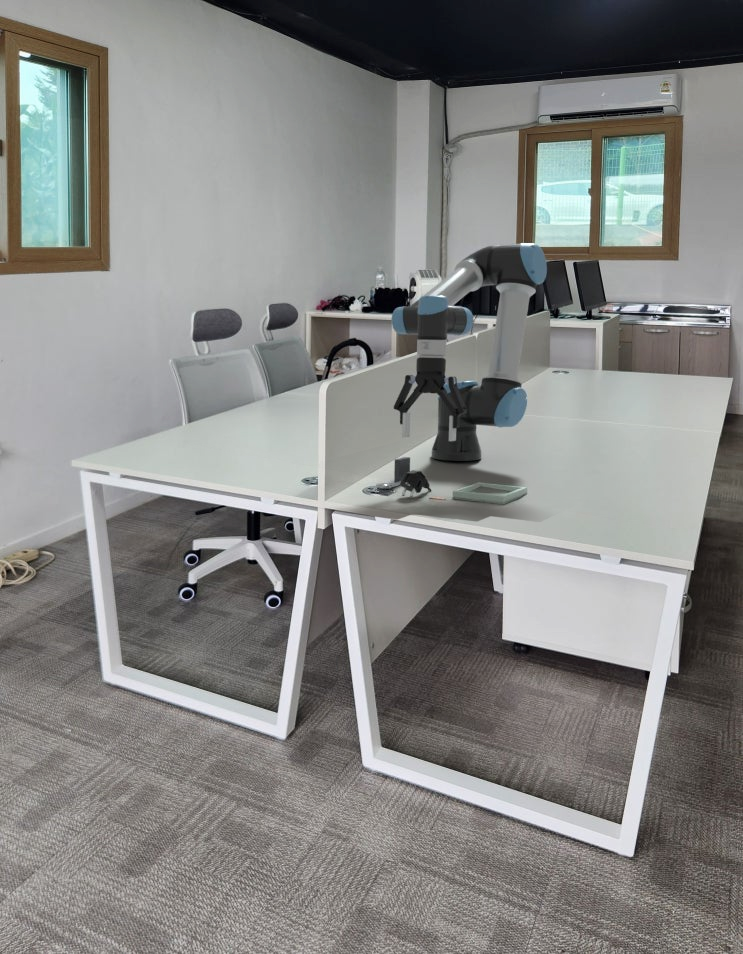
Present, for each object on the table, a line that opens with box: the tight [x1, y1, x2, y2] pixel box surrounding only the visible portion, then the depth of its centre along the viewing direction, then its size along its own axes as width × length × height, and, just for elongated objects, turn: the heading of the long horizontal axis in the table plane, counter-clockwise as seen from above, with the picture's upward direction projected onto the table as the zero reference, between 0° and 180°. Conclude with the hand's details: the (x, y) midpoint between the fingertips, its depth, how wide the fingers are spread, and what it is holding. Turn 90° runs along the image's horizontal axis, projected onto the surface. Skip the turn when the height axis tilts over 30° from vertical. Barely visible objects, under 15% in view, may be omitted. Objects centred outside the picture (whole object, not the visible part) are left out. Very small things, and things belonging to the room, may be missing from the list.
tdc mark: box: [429, 496, 446, 501], centre depth 220 cm, size 1×4×1 cm, turn 59°
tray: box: [452, 482, 528, 505], centre depth 224 cm, size 16×14×2 cm
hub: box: [374, 488, 395, 496], centre depth 228 cm, size 7×7×1 cm
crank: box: [375, 456, 411, 489], centre depth 232 cm, size 15×4×7 cm, turn 149°
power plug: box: [400, 469, 432, 498], centre depth 223 cm, size 6×8×12 cm
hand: (428, 439), depth 225 cm, fingers open, 13 cm apart
